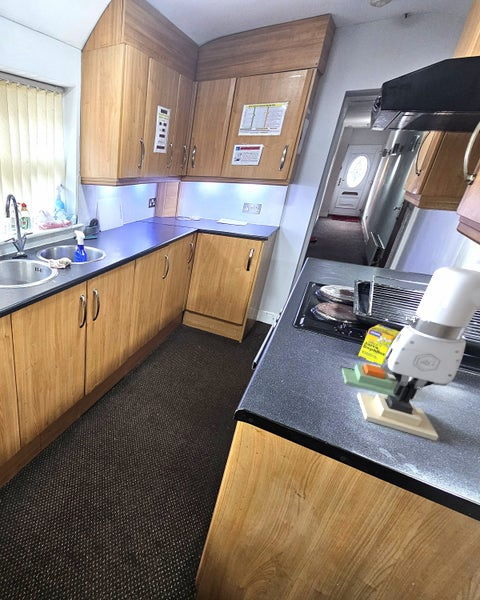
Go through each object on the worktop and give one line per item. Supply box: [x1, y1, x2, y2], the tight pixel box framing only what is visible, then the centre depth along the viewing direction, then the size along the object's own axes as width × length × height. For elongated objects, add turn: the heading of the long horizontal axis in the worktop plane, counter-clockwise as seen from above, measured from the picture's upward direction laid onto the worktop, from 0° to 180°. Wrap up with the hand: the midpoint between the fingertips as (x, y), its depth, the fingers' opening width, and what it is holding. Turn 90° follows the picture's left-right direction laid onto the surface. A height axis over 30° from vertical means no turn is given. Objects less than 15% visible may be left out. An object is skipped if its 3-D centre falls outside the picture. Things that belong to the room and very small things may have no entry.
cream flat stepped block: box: [357, 391, 439, 442], centre depth 76 cm, size 12×10×3 cm
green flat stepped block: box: [340, 363, 398, 397], centre depth 88 cm, size 12×10×3 cm
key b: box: [363, 363, 386, 379], centre depth 87 cm, size 4×4×2 cm
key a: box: [386, 395, 413, 414], centre depth 75 cm, size 4×4×2 cm
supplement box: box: [357, 323, 401, 367], centre depth 95 cm, size 6×6×11 cm
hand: (400, 398), depth 74 cm, fingers closed
